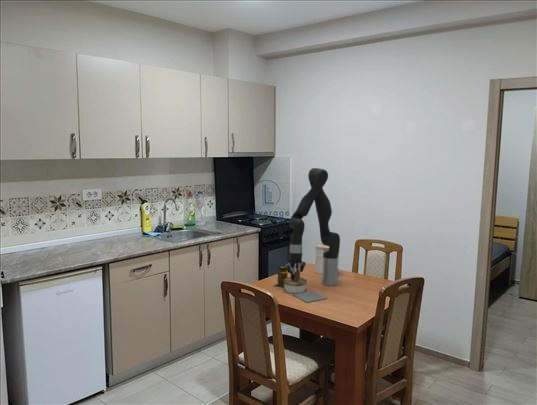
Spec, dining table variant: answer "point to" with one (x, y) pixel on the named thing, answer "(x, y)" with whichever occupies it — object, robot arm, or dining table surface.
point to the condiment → (281, 277)
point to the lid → (295, 280)
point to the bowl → (294, 289)
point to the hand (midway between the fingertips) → (295, 279)
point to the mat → (309, 296)
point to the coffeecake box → (321, 258)
